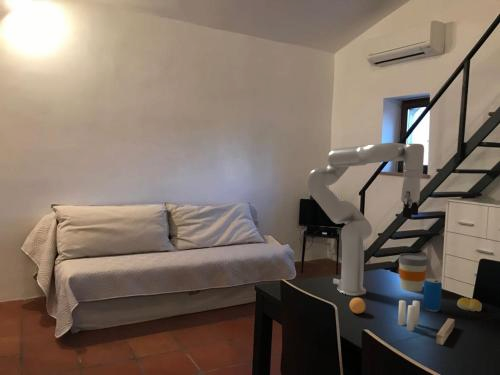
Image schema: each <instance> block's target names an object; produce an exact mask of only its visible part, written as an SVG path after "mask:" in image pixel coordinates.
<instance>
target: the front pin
mask: <svg viewBox="0 0 500 375" xmlns="http://www.w3.org/2000/svg"><path fill="white" fill-rule="evenodd" d="M406 312H407V301H406V300H402V299H401V300H399V301H398V315H397V316H398V318H397V324H398V325H399V326H406Z"/></svg>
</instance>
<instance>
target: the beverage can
mask: <svg viewBox="0 0 500 375" xmlns="http://www.w3.org/2000/svg"><path fill="white" fill-rule="evenodd" d="M442 287H443V283H442V282H441V279H438V278H434V277H427V278H426V277H425V280H424V281H423V297H422V300H423V301H422V307H423V308H424V309H425V311H429V312H435V313H437V312H439V311H440V310H441V304H442V302H441V301H442Z"/></svg>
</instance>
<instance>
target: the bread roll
mask: <svg viewBox="0 0 500 375" xmlns="http://www.w3.org/2000/svg"><path fill="white" fill-rule="evenodd" d="M456 306H458V307H459V308H460V309H462V310H464V311H471V312H475V311H477V312H481V311H482V308H483V307H482V306H483V304H482V303H481V301H480V300H478V299H475V298H472V299H469V298H468V297H461V298H459V299H458V300H457V303H456Z"/></svg>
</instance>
